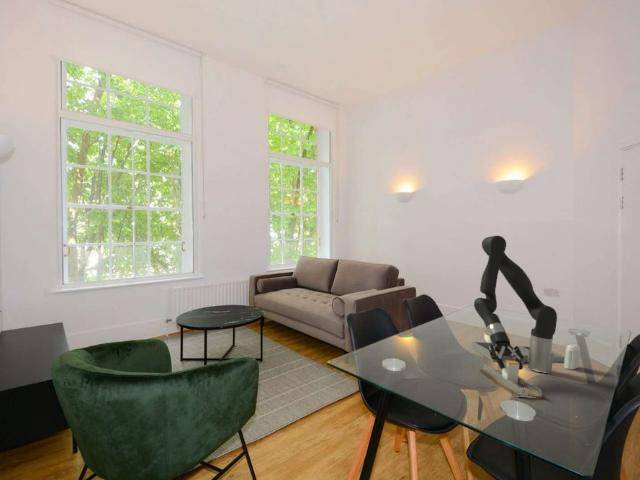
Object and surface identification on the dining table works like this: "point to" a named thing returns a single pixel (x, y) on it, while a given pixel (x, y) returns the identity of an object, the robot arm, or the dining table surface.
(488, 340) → the lidded jar
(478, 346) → the large tray rim
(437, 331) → the dining table surface
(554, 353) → the small tray rim
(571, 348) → the white ridged block
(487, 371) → the rail board
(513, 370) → the block
